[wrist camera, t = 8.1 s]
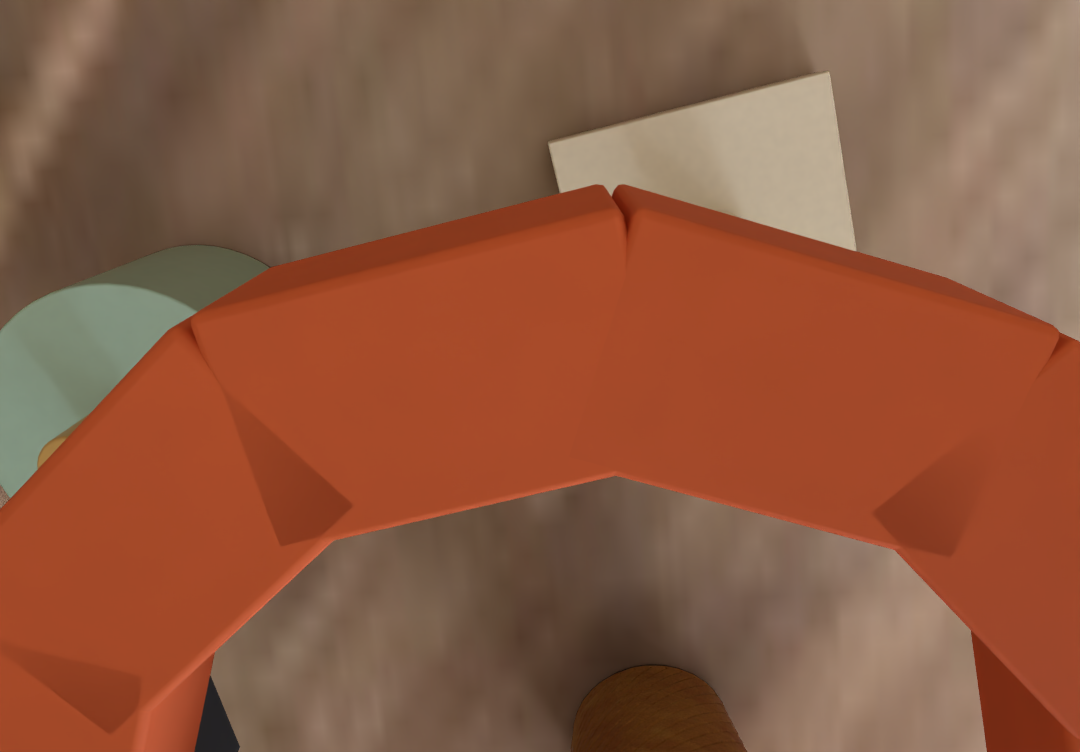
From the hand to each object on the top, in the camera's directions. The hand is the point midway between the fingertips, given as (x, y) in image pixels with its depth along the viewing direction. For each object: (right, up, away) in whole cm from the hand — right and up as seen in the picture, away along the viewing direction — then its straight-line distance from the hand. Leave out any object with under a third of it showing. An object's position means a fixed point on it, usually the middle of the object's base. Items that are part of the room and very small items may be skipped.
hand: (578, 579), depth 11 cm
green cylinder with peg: (-12, +3, +21) cm, 25 cm away
